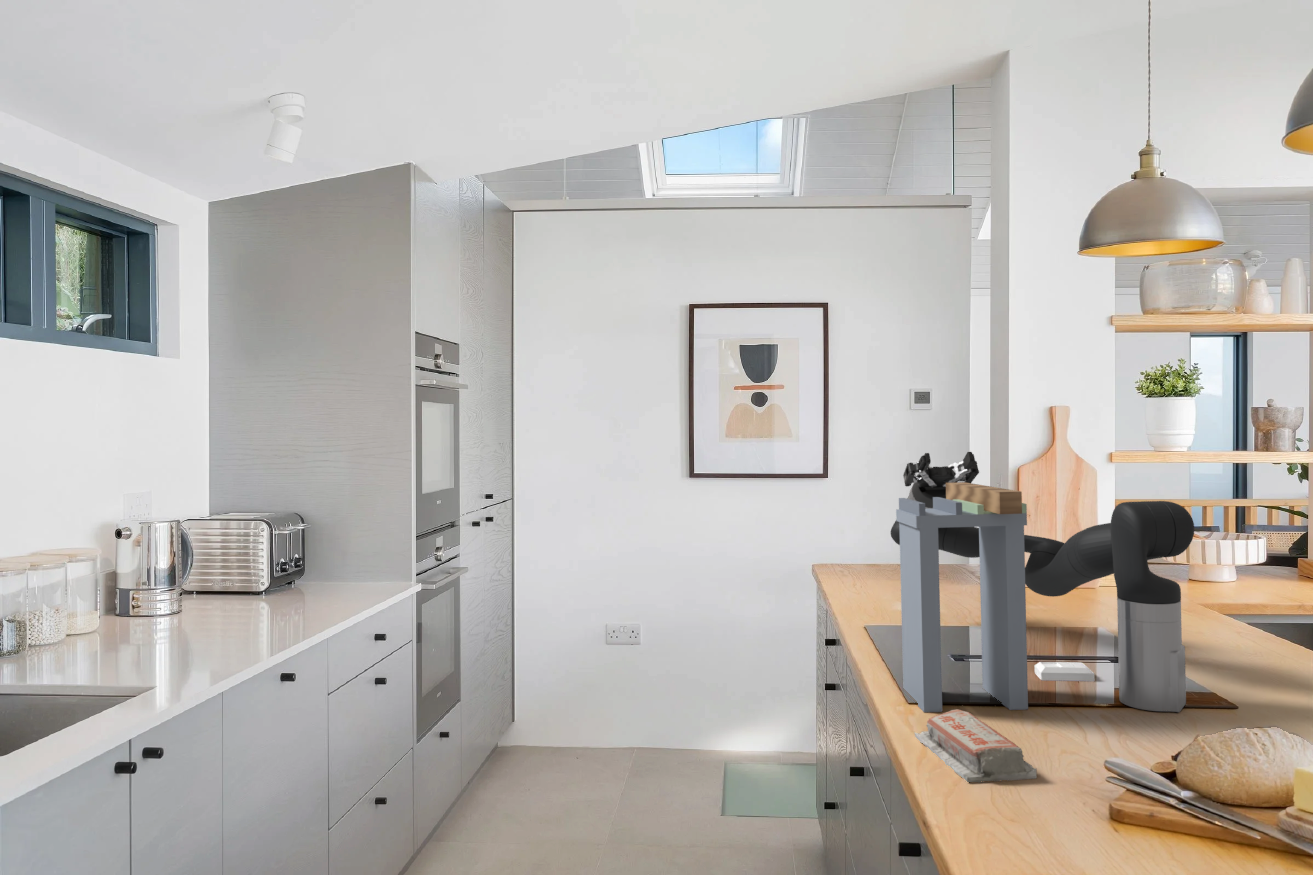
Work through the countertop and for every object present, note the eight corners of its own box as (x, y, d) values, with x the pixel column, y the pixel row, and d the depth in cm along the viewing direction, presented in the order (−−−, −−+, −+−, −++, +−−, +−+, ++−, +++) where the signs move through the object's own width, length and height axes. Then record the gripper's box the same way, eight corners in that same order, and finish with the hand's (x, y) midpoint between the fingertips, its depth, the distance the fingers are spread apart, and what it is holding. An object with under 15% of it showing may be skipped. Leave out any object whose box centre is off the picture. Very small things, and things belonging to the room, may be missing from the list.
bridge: (900, 690, 158) (895, 498, 158) (1002, 688, 159) (998, 495, 158) (920, 712, 146) (916, 503, 146) (1031, 709, 147) (1026, 500, 146)
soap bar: (1094, 683, 161) (1094, 668, 161) (1041, 682, 163) (1041, 667, 163) (1086, 675, 166) (1085, 661, 166) (1034, 674, 168) (1034, 660, 168)
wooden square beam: (946, 501, 169) (945, 482, 169) (964, 500, 169) (964, 482, 169) (1000, 514, 143) (999, 492, 143) (1022, 513, 143) (1021, 491, 143)
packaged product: (1039, 745, 118) (966, 750, 117) (1040, 782, 118) (967, 787, 117) (976, 704, 136) (912, 708, 135) (977, 736, 136) (913, 740, 135)
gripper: (893, 478, 195) (910, 440, 181) (958, 476, 195) (981, 439, 181) (898, 509, 191) (917, 473, 177) (965, 507, 191) (989, 471, 177)
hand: (949, 456), depth 179 cm, fingers open, 8 cm apart
